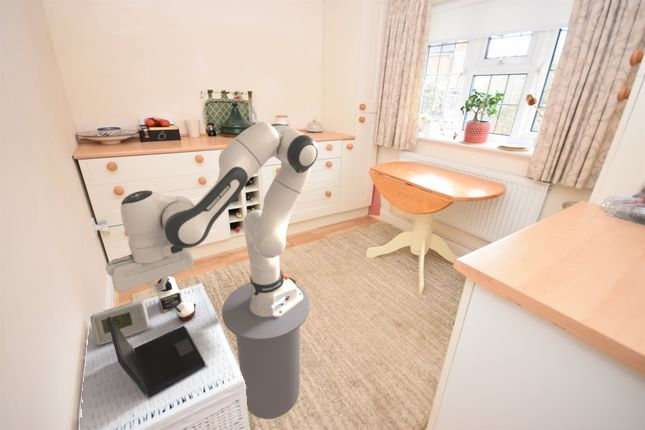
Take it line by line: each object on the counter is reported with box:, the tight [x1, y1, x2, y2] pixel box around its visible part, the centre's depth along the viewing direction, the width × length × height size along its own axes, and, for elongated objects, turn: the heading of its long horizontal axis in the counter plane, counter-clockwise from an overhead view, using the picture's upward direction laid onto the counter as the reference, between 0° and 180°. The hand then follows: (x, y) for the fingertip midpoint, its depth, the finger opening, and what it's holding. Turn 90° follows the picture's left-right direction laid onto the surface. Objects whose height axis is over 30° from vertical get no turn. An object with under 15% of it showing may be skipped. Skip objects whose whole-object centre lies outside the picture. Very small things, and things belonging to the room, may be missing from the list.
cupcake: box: [169, 301, 197, 322], centre depth 109 cm, size 10×6×12 cm, turn 133°
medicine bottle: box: [156, 276, 183, 313], centre depth 116 cm, size 7×7×12 cm
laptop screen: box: [107, 316, 149, 396], centre depth 85 cm, size 16×20×1 cm
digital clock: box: [89, 300, 151, 346], centre depth 102 cm, size 16×9×11 cm, turn 110°
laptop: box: [133, 325, 206, 398], centre depth 95 cm, size 16×20×2 cm
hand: (159, 290), depth 85 cm, fingers closed
